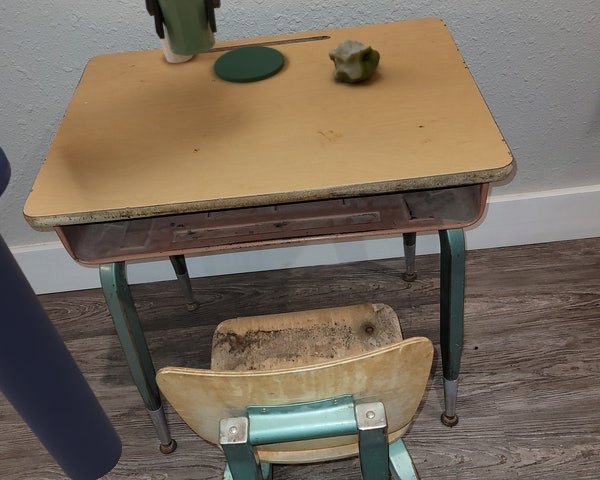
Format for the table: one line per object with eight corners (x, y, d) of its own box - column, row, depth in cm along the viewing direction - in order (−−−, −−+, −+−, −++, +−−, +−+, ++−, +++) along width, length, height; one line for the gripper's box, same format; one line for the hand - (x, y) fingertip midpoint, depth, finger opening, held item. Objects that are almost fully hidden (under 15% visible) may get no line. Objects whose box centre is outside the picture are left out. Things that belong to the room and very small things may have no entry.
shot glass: (197, 61, 122) (189, 26, 117) (163, 66, 122) (155, 32, 117) (194, 47, 127) (187, 13, 122) (162, 52, 126) (154, 18, 121)
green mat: (232, 89, 112) (231, 85, 112) (203, 63, 121) (203, 59, 121) (296, 68, 116) (296, 64, 116) (264, 43, 125) (264, 39, 125)
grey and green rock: (383, 90, 110) (380, 52, 103) (333, 97, 111) (327, 61, 105) (378, 58, 115) (376, 20, 108) (331, 66, 116) (325, 29, 110)
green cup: (179, 60, 93) (163, -8, 85) (163, 44, 97) (147, -22, 90) (222, 46, 95) (210, -21, 87) (205, 31, 99) (192, -34, 92)
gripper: (237, -112, 94) (254, 34, 95) (110, -96, 94) (128, 49, 95) (232, -146, 87) (250, 13, 87) (93, -129, 87) (113, 29, 87)
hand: (186, 31), depth 91 cm, fingers closed on green cup, 7 cm apart
